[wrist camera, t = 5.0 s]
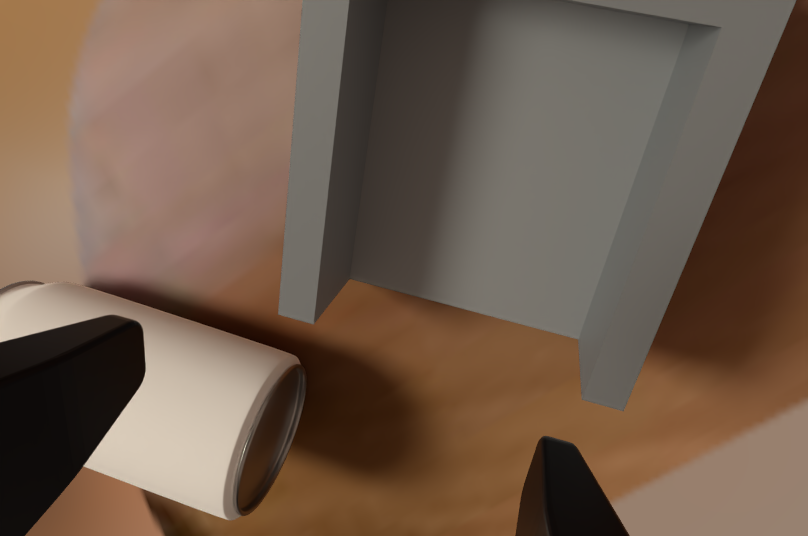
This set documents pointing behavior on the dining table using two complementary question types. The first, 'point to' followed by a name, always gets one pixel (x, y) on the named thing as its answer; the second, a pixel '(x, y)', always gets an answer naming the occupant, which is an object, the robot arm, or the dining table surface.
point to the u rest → (518, 157)
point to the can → (182, 400)
